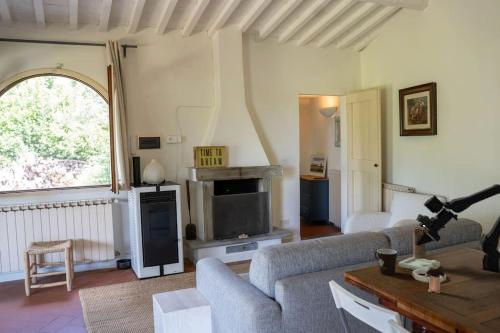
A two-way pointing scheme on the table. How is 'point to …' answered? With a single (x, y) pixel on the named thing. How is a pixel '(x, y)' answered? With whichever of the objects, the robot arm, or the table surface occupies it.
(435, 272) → the grandmother figurine
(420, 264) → the tray
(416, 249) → the walnut post
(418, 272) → the ring dish
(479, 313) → the table surface
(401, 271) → the table surface
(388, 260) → the coffee mug
